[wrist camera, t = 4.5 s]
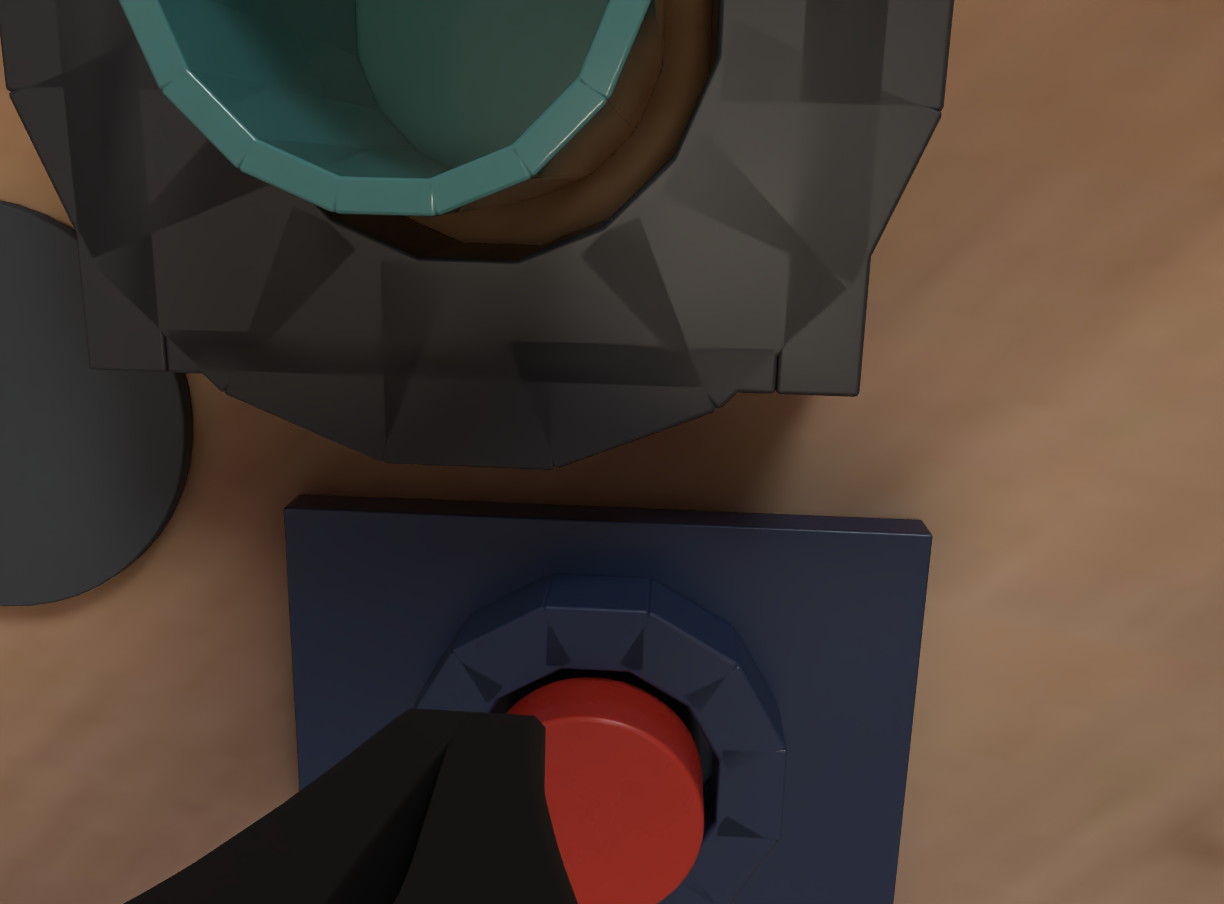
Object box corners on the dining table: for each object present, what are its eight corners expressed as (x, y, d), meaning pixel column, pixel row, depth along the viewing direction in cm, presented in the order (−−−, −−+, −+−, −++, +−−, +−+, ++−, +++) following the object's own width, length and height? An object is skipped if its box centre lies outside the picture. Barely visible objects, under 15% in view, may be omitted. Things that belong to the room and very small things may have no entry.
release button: (485, 862, 20) (470, 917, 19) (484, 669, 19) (468, 710, 18) (697, 874, 20) (698, 930, 18) (706, 680, 19) (710, 723, 17)
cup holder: (149, 405, 20) (45, 450, 17) (75, -433, 17) (-73, -584, 14) (867, 431, 20) (907, 484, 16) (943, -435, 16) (1014, -594, 13)
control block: (319, 891, 23) (278, 975, 21) (299, 494, 21) (249, 535, 18) (880, 925, 22) (904, 1015, 20) (922, 519, 20) (955, 565, 18)
